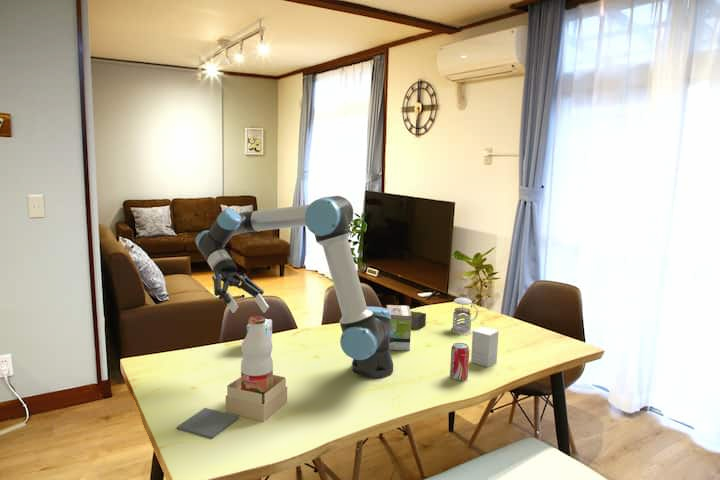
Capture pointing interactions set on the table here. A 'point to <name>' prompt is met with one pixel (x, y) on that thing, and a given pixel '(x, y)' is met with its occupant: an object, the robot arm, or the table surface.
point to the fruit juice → (256, 359)
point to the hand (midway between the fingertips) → (251, 309)
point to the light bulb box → (266, 328)
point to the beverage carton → (418, 320)
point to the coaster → (208, 423)
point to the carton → (256, 399)
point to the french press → (462, 316)
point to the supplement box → (484, 346)
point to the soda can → (459, 361)
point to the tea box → (400, 327)
